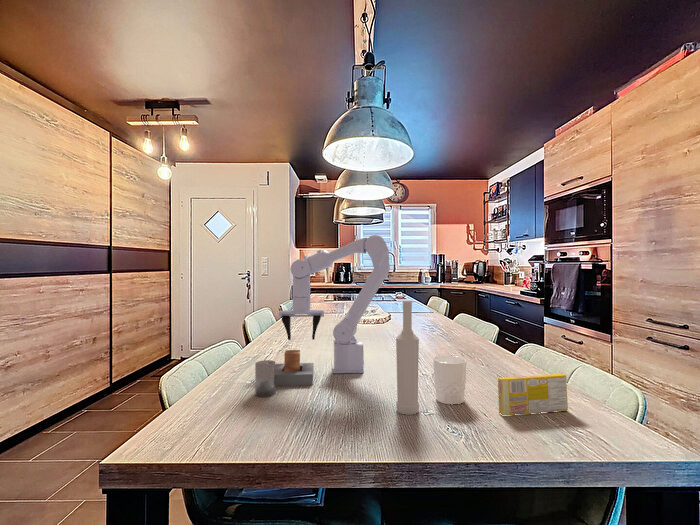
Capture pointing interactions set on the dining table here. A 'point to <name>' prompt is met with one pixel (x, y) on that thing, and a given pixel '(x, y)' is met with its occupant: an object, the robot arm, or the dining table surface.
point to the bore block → (294, 375)
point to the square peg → (292, 360)
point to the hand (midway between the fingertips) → (301, 339)
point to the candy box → (532, 394)
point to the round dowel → (265, 378)
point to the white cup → (450, 379)
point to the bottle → (407, 365)
